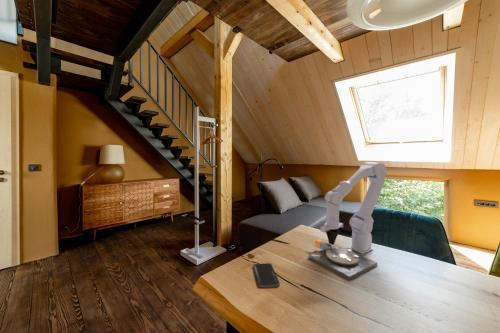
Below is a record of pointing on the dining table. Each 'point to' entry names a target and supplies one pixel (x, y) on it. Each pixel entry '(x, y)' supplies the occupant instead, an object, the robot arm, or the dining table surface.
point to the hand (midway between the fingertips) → (331, 243)
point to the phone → (265, 275)
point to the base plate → (343, 270)
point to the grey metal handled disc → (338, 254)
